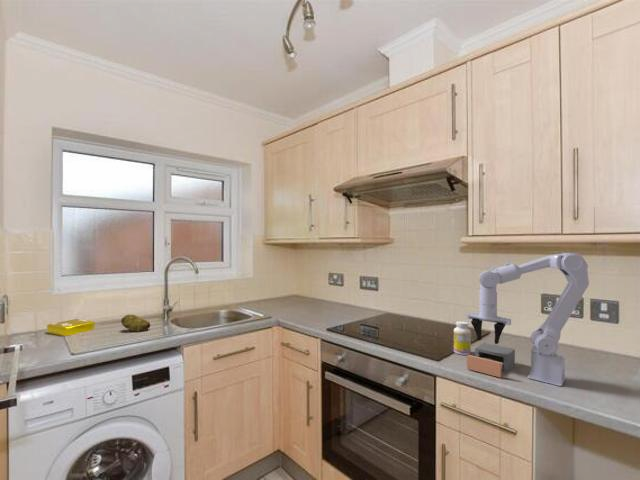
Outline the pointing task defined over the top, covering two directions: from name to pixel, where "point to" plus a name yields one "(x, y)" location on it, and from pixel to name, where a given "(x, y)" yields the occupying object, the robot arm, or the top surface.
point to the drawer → (484, 365)
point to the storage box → (497, 354)
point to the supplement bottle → (462, 338)
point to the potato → (135, 323)
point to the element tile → (70, 327)
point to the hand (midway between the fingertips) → (487, 341)
